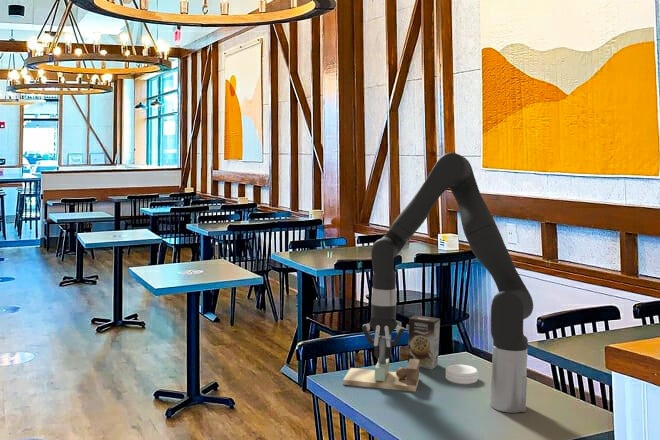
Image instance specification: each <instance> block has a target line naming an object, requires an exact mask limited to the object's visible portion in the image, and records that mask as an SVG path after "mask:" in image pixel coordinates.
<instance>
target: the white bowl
mask: <svg viewBox="0 0 660 440" xmlns="http://www.w3.org/2000/svg"><path fill="white" fill-rule="evenodd" d="M478 374H479V370H478V369H477V368H475V366H472V365H468V364H461V363H460V364H451V365H448V366H446V367H445V379H446V380H447V381H449V382H450V383H453V384H458V385H459V384H460V385H470V384H475V383H477V382H478V380H479V379H478V376H479V375H478Z"/></svg>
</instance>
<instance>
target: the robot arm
mask: <svg viewBox="0 0 660 440" xmlns="http://www.w3.org/2000/svg"><path fill="white" fill-rule="evenodd" d="M448 189H450V190H449V191H450V192H451V193H452V195H453V197H454V200H456V203H457V206H458V209H459V211H458V212H459V215H460V223H461V226H462V230H463V233H464V237H465V238H466V241H467V243H468V246H469V248H470V250H471V252H472V253H473V255H474V256H475V258H476V259H477V260H478V262H479V263H480V264H481V265H482V266H483V267H484V268H485V269H486V270H487V271H488V273H489V275H490V276H491V277H492V279H493V281H494V283H495V286H496V288H497V290H498V292H497V293H496V294H495V295H494V296H493V298H492V299H491V300H492V301H491V306H490V334H491V337H492V360H491V362H492V363H491V380H490V381H491V385H490V386H491V387H490V407H491V408H492V409H495V410H497V411H498V412H504V413H511V414H512V413H526V411H527V409H526V408H527V389H528V388H527V386H528V377H527V369H528V368H527V367H528V349H529V348H528V347H529V346H528V344H529V340H528V337H527V336H526V335H525V333H524V320H526V319H527V318H530V317H531V315H532V314H533V311H534V300H533V297H532V295H531V294H530V291H529V290H528V288H527V287H526V284H525V283H524V281H523V279H522V278H521V276H520V274H519V272H518V271H517V269H516V266H515V265H514V263H513V260H512V257H511V255H510V253H509V250H508V248H507V246H506V244H505V241H504V239H503V237H502V234H501V232H500V229H499V227H498V226H497V223H496V221H495V219H494V217H493V215H492V213H491V211H490V209H489V207H488V206H487V204H486V202H485V200H484V198H483V196H482V194H481V191H480V189H479V187H478V184H477V180H476V177H475V174H474V171H473V167H472V165H471V162H470V161H469V160H468V159H467V158H466V157H464V156H463V155H460V154H459V153H456V152H447V153H444V154H442V155H440V157H439V158H438V160H437V161H436V162H435V163H434V165H433V167H432V169H431V171H430V172H429V173H428V175H427V178H426V179H425V181H424V182H423V184H422V185H421V186H420V188H419V189H418V191H417V193H416V194H415V195H414V196H413V198H412V199H411V200H410V202H409V203H408V204H407V205H406V206H405V208H404V209H403V210H402V211H401V212H400V213H399V214H398V216H396V218H395V219H394V220H393V222H392V224H391V227H390V228H389V229H388V230H387V232H386V233H385V234H384V235H383V236H382V237H381V238H379V239H377V240H376V241H374V242H373V244H372V247H371V252H370V253H371V255H370V256H371V258H370V259H371V266H372V272H373V273H372V274H373V275H372V291H371V299H370V301H371V311H370V312H371V315H370V321H369V323H364V324H362V326H361V330H362V332H363V334H364V336H365V339H366V340H367V344H369V345H373V355H374V357H375V358H376V359H378V357H379V337H381V336H383V337H386V344H387V347H386V359H390V357H391V356H392V347H394V346H397V344H398V342H399V340H400V339H401V337H402V335H403V334H404V331H405V330H406V328H405V327H403V326H400V325H398V322H397V319H396V318H397V272H396V271H395V269H394V264H395V263H394V258H396V257H397V256H398V254H399V253H400V252H401V251H402V250H403V248H404V247H405V245H406V244H407V242H408V241H409V239H411V237H412V236H414V234H415V233H416V232H418V230H419V229H420V227H421V226H422V225H423V223H425V221H426V219H427V218H428V216H429V214H430V212H431V211H432V210H433V207H434V206H435V204H436V202H437V200H438V199H439V198H440V197H441V196H442V194H444V193H445V192H446V191H447V190H448ZM371 329H372V331H373V332H374V333H375V334H374V338H373V336H372V334H371V332H370V330H371ZM394 331H396V336H395V337H394V339H393V340H392V333H393V332H394Z"/></svg>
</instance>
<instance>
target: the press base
mask: <svg viewBox="0 0 660 440" xmlns="http://www.w3.org/2000/svg"><path fill="white" fill-rule="evenodd" d="M419 380H420V367H419V359H410V360H409V363H408V362H407V366H406V367H405V366H404V367H403V366H401V367H397V369H396V371H390V370H389V372H388V374H387V377H386V379H385V381H376V380H375V369H367V368H356V367H350V368H349V370H348V371H347V372H346V374H345V376H344V378H343V379H342V385H345V386H353V387H354V386H355V387H362V388H363V387H364V388H374V389H386V390H393V391H405V392H415V393H416V391H417V387H418V384H419Z"/></svg>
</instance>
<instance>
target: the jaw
mask: <svg viewBox="0 0 660 440" xmlns="http://www.w3.org/2000/svg"><path fill="white" fill-rule="evenodd" d="M386 347H387V344H386V337H385V336H380V337H379V357H378V358H377V363H376V364H375V366H374V370H375V380H376V381H385V379H386V377H387V374H388V372H389V371H390V358H388V359H386Z"/></svg>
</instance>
